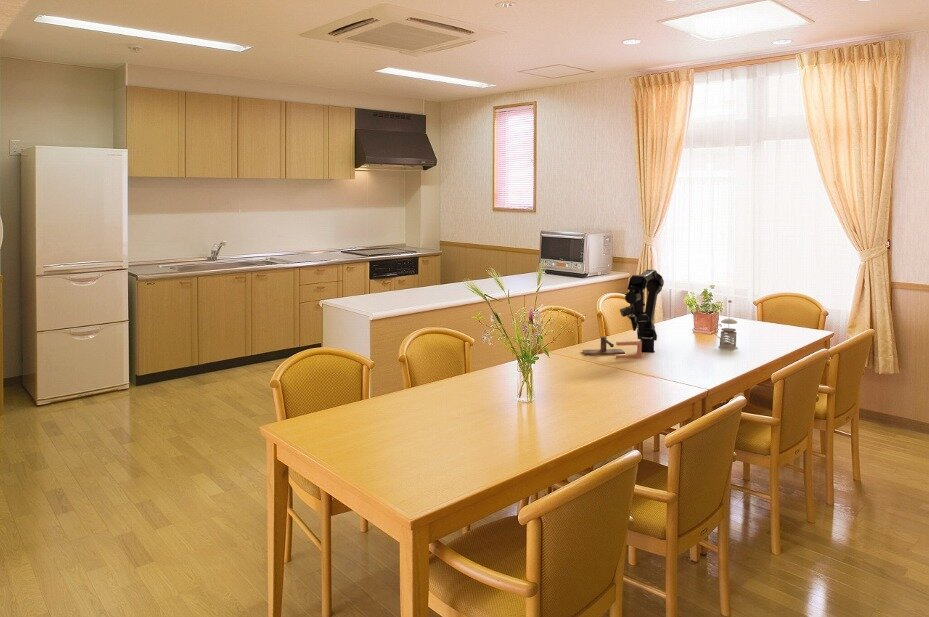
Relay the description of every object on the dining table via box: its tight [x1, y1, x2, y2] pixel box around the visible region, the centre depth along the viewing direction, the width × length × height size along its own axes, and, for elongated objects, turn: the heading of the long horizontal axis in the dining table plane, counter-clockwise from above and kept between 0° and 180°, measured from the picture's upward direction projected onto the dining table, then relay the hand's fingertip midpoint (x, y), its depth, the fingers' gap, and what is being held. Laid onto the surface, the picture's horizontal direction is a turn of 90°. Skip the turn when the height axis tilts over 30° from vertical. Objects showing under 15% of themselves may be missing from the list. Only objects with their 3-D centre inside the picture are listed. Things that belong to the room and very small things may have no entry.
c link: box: [615, 340, 643, 359], centre depth 345 cm, size 12×2×8 cm, turn 93°
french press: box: [714, 299, 738, 351], centre depth 364 cm, size 10×12×25 cm
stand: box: [581, 336, 626, 356], centre depth 349 cm, size 20×21×8 cm
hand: (637, 332), depth 345 cm, fingers open, 9 cm apart
